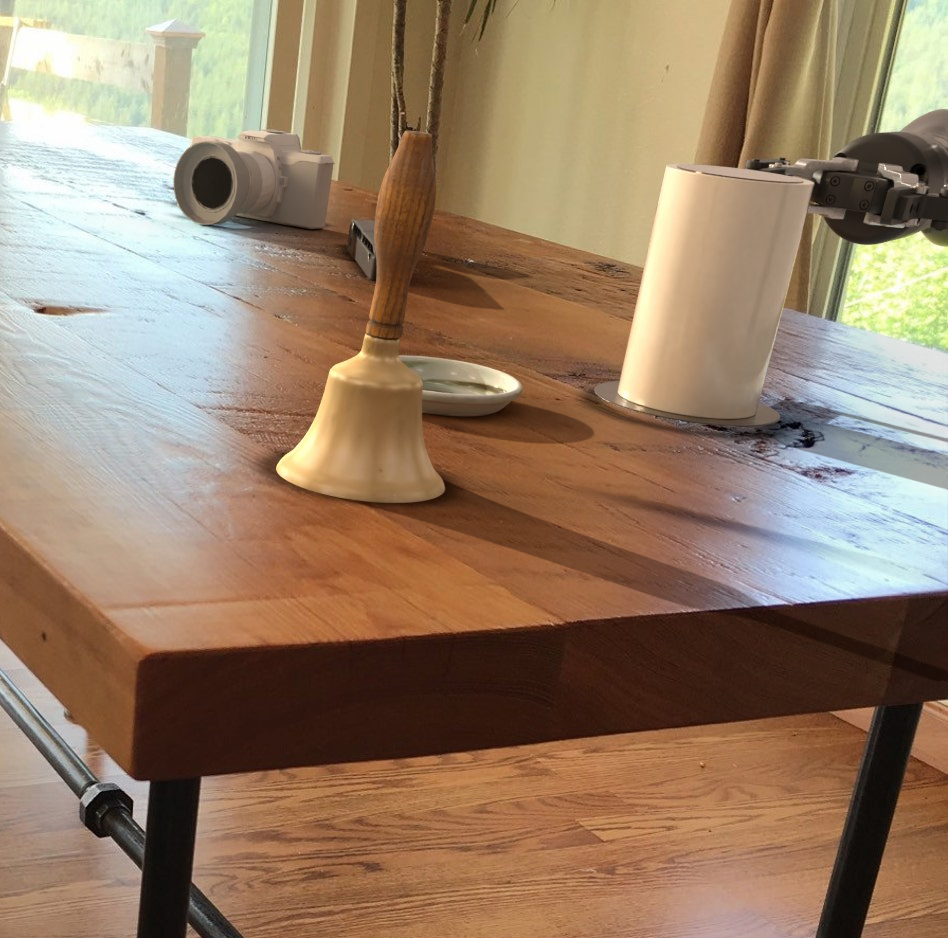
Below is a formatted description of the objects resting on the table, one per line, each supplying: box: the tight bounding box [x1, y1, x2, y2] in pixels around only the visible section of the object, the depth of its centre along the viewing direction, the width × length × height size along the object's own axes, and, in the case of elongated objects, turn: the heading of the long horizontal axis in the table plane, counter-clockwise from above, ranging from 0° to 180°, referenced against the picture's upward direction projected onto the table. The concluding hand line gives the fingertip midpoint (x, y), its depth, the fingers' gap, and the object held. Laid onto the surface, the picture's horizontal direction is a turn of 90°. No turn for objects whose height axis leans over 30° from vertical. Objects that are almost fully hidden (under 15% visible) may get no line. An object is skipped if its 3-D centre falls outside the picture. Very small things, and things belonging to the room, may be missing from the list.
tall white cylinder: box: [618, 163, 814, 419], centre depth 98 cm, size 13×8×13 cm, turn 143°
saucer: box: [399, 355, 524, 417], centre depth 94 cm, size 10×10×2 cm
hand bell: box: [275, 130, 446, 504], centre depth 76 cm, size 8×8×16 cm
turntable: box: [593, 380, 781, 427], centre depth 100 cm, size 11×11×1 cm
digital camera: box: [173, 129, 335, 230], centre depth 163 cm, size 17×14×10 cm
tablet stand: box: [347, 218, 377, 282], centre depth 143 cm, size 18×3×3 cm, turn 0°
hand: (823, 197), depth 108 cm, fingers open, 8 cm apart
